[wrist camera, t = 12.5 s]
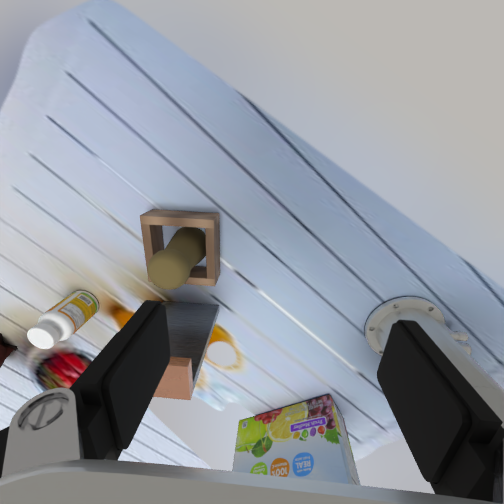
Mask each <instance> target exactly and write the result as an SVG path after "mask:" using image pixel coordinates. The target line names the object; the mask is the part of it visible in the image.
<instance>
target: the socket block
mask: <svg viewBox="0 0 504 504" xmlns="http://www.w3.org/2000/svg"><path fill="white" fill-rule="evenodd" d="M140 221H141V228H142V236H143V243H144V251H145V258H146V266H147V267H148V263H149V261H150V259H151V258H152V256H153V255H154V254H156V253H157V252H159V251H161V250H164V243H163V233H162V225H165V226H182V227H198V228H205V231H206V263H207V267H201V266H194V267H193V268H192V269H191V271H190V275H189V278H188V280H187V281H186V282H185V283H184V284H191V285H205V286H215V285H216V283H217V280H218V278H219V275H220V226H219V213H206V212H188V211H171V210H153V209H152V210H150V211H148V212H146V213H144V214H142V215H140ZM147 273H148V269H147ZM148 281H149V282H152V281H151V280H150V277H149V275H148Z"/></svg>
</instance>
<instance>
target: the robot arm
mask: <svg viewBox="0 0 504 504" xmlns="http://www.w3.org/2000/svg"><path fill="white" fill-rule="evenodd" d="M365 337H366V340H367V342H368V344H369V346H370V347H371V348H372V349H373V350H374V351H375V352H376V353H377V354H379V355H381V356H382V358H381V362H380V365H379V368H378V371H377V378H378V382H379V384H380V386H381V388H382V390H383V393H384V395H385V397H386V399H387V401H388V403H389V405H390V408H391V410H392V412H393V414H394V416H395V418H396V420H397V422H398V425H399V427H400V429H401V431H402V433H403V435H404V437H405V440H406V442H407V444H408V446H409V448H410V450H411V452H412V454H413V457H414V459H415V461H416V463H417V465H418V467H419V469H420V472H421V474H422V475H423V477H424V479H425V480H426V481H427V482H430V484H431V486H432V488H433V490H434V492H435V494H430V493H421V492H413V491H403V490H396V489H386V488H378V487H370V486H361V485H352V484H344V483H335V482H325V481H316V480H307V479H298V478H289V477H280V476H270V475H261V474H252V473H243V472H233V471H223V470H213V469H204V468H194V467H184V466H175V465H165V464H154V463H142V462H130V461H117V460H118V458H119V456H120V454H121V452H122V450H123V449H127V448H128V447H129V445H130V443H131V441H132V439H133V437H134V435H135V433H136V431H137V428H138V426H139V424H140V422H141V420H142V418H143V416H144V414H145V412H146V410H147V408H148V406H149V404H150V401H151V399H152V397H153V395H154V393H155V391H156V389H157V387H158V385H159V383H160V381H161V379H162V376H163V374H164V372H165V370H166V368H167V366H168V364H169V361H170V357H171V352H170V343H169V334H168V324H167V315H166V307H165V305H162V303H161V302H160V301H150V300H146V301H145V302H144V303H143V304H142V305H141V306H140V308H139V309H138V310H137V311H136V312H135V314H134V315H133V316H132V317H131V318H130V320H129V321H128V322H127V323H126V324H125V326H124V327H123V328H122V329H121V330H120V331H119V332H118V333H116V334H115V336H114V337H113V338H112V339H111V340H110V341H109V343H108V344H107V345H106V346H105V347H104V348H103V350H102V351H101V352H100V353H99V354H98V356H97V357H96V358H95V359H94V360H93V361H92V363H91V364H90V365H89V366H88V367H87V369H86V370H85V371H84V372H83V373H82V374H81V376H80V377H79V378H78V379H77V380H76V381H75V383H74V384H73V385H72V386H71V387H70V389H66V388H55V389H51V390H48V391H45V392H43V393H41V394H39V395H37V396H35V397H33V398H32V399H31V400H29V401H28V402H26V403H25V404H24V405H23V406H22V407H21V408H20V409H19V410H18V411H17V412H16V414H15V415H14V416H13V418H12V421H11V423H10V426H9V427H7V428H5V429H3V430H1V431H0V504H504V390H503V389H502V388H501V387H500V386H499V385H498V383H497V382H496V381H495V380H494V379H493V378H492V377H491V376H490V375H489V374H488V373H487V372H486V371H485V370H484V369H483V368H482V367H481V366H480V365H479V364H478V363H477V362H476V361H475V360H474V359H473V358H472V357H471V356H470V354H471V347H470V346H469V344H467V343H457V342H456V341H455V340H460V341H467V340H468V335H467V333H465V332H458V331H456V332H452V331H451V330H450V329H449V328H448V327H447V326H446V325H445V319H444V316H443V314H442V313H441V311H440V310H439V309H438V308H437V307H436V306H435V305H434V304H432V303H431V302H430V301H427V300H425V299H422V298H418V297H401V298H396V299H393V300H390V301H388V302H386V303H384V304H382V305H381V306H379V307H378V308H377V309H375V310H374V311H373V313H372V314H371V315H370V316H369V318H368V320H367V322H366V325H365ZM104 459H106V460H104Z"/></svg>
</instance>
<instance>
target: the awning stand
mask: <svg viewBox="0 0 504 504" xmlns="http://www.w3.org/2000/svg"><path fill="white" fill-rule="evenodd" d="M162 305H165V307H166V315H167V324H168V334H169V343H170V352H171V357H170V361H169V364H168V366H167V368H166V370H165V372H164V374H163V376H162V379H161V381H160V383H159V385H158V387H157V389H156V391H155V393H154V395H153V397H163V398H173V399H184V400H191V396H192V393H193V390H194V387H195V384H196V381H197V378H198V375H199V372H200V369H201V366H202V362H203V359H204V356H205V353H206V350H207V347H208V344H209V341H210V338H211V335H212V332H213V328H214V325H215V322H216V319H217V316H218V313H219V305H209V304H196V303H183V302H170V301H164V302H163V303H162Z"/></svg>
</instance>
